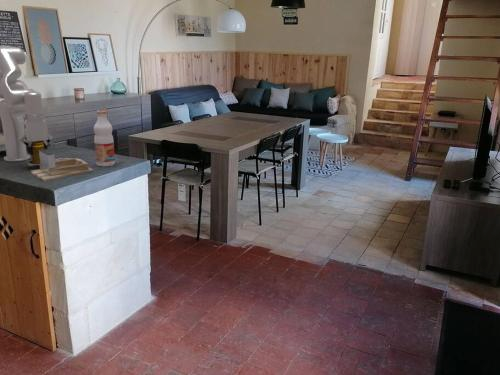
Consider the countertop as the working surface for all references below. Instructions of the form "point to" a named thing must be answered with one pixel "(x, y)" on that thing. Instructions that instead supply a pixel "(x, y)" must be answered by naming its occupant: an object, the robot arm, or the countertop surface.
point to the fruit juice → (103, 141)
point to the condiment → (36, 152)
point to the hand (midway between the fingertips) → (38, 153)
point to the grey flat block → (47, 160)
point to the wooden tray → (64, 169)
